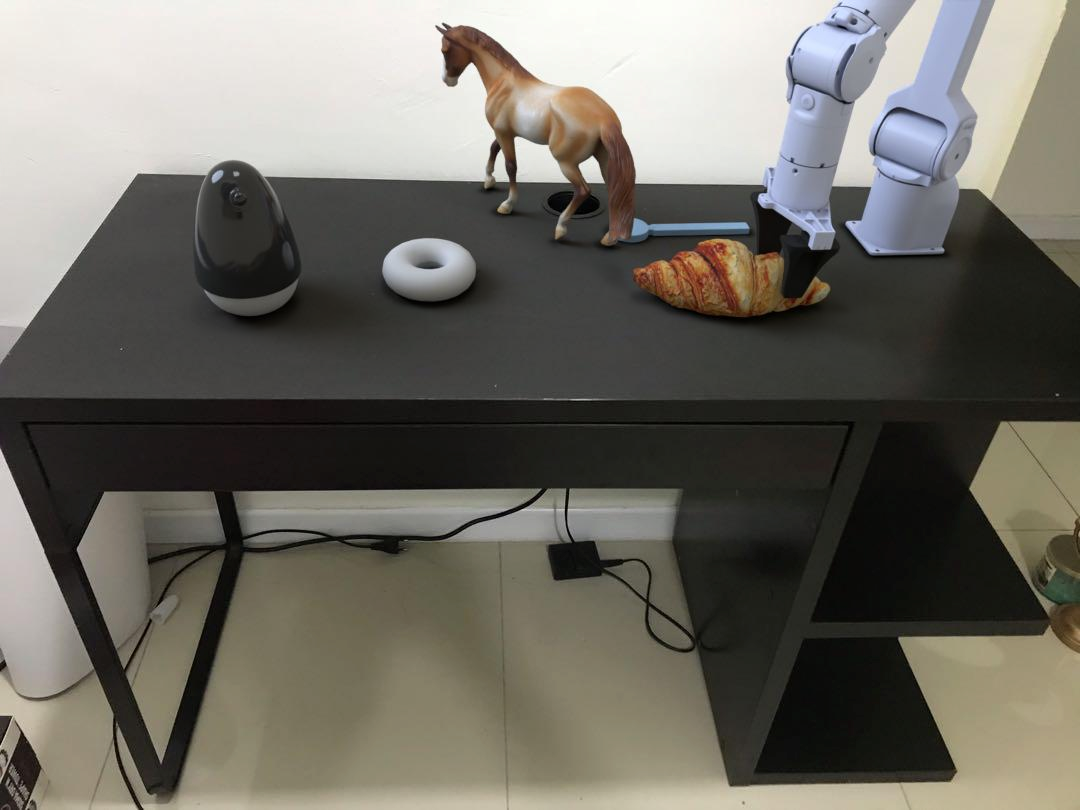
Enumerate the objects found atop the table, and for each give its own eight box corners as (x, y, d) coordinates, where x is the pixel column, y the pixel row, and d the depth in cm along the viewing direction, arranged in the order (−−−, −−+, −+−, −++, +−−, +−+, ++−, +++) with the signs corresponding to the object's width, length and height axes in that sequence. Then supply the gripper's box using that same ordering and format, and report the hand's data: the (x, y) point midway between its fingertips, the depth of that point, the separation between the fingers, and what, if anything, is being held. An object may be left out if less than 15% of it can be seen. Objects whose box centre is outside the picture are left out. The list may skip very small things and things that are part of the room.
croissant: (809, 315, 103) (817, 244, 102) (843, 325, 93) (852, 246, 92) (624, 306, 102) (629, 233, 100) (638, 314, 92) (644, 234, 90)
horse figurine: (434, 188, 116) (430, 20, 103) (479, 172, 120) (481, 9, 107) (617, 287, 99) (640, 101, 86) (662, 263, 104) (690, 84, 91)
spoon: (741, 222, 113) (742, 214, 112) (752, 240, 109) (754, 232, 109) (606, 224, 111) (607, 217, 110) (613, 243, 107) (614, 235, 106)
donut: (447, 318, 93) (492, 273, 100) (446, 290, 91) (492, 245, 98) (365, 292, 96) (414, 250, 103) (362, 264, 94) (412, 223, 101)
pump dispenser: (208, 338, 88) (177, 193, 78) (198, 284, 95) (168, 146, 86) (314, 321, 91) (296, 180, 82) (296, 270, 99) (278, 135, 89)
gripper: (746, 127, 94) (723, 244, 102) (796, 189, 82) (765, 315, 91) (811, 126, 95) (783, 242, 103) (869, 188, 83) (832, 312, 92)
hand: (779, 276), depth 97 cm, fingers open, 7 cm apart
